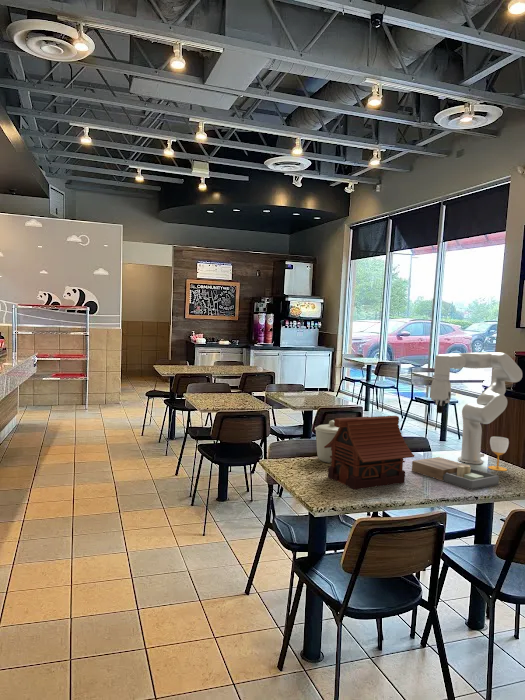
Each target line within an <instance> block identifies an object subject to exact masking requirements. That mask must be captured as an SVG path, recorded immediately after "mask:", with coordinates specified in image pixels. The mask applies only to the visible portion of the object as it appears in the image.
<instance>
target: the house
mask: <svg viewBox="0 0 525 700" xmlns="http://www.w3.org/2000/svg"><path fill="white" fill-rule="evenodd" d="M333 420H334V426H335V427H338V428H339V429H338V431H337V432H336V433H337V434H336V435H335V437H334V438H333V439H332V440H331V441H330V442H329V443H328V444H327V445H326V446H324V448H331V451H332V456H330V458H332V460H331V463H330V465H329V466H328V468H327V469H328V470H327V478H328V479H330V480H332V479H333V480H332V481H335V482H337V481H338V482H337V483H339V482H340V484H341V485H344V486H347V487H348V488H350V489H352V490H362V489H361V488H363V489H368V488H369V487H370V488H375V486H377V487H383V485H384V486H391V485H397V484H405V482H406V481H405V480H406V471H405V470H403V469H404V467H403V465H404V463H405V462H406V460H404V459H407V458H409V459H410V458H414V457H415V455H414V453H413V452H412V451H411V449H410V448H409V447H408V445H407V443H406V441H405V440H404V437H403V435H402V432H401V429H400V425H399V423H400V417H399V416H397V415H385V416H384V415H383V416H382V415H381V416H358V417H340V418H339V417H338V418H334V419H333Z"/></svg>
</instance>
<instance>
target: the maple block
mask: <svg viewBox="0 0 525 700" xmlns="http://www.w3.org/2000/svg"><path fill="white" fill-rule="evenodd" d="M471 468H472V467H471V465H469V464H466V465H460V466H457V476H459V477H462V478H464V474H469V473H470V470H471Z"/></svg>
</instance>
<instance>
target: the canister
mask: <svg viewBox="0 0 525 700" xmlns="http://www.w3.org/2000/svg"><path fill="white" fill-rule="evenodd" d="M338 429H339V428H338V427H335V426H334V419H332V420H329V422H328V423H327V424H319V425H317V426H315V427H314V430H315V440H316V452H317V455H316V456H317V458H318V459H319V461H321V462H324V463H329V464H331V460H332V458H330V456H332V451H331V448H324V446H326V445H327V444H328V443H329V442H330V441H331V440H332V439H333V438H334V437H335V435H336V434H337V433H336V432H337V431H338Z"/></svg>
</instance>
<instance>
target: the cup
mask: <svg viewBox="0 0 525 700" xmlns="http://www.w3.org/2000/svg"><path fill="white" fill-rule="evenodd" d="M509 444H510V441H509V438H507V437H503V436H496V435H495V436H491V437H490V439H489V445H490V449H491V452H492V453H494V454H495V455H497V458H496V459H497V460H496V465H488V466H487V468H488V469H490V470H493V471H496V472H507V471H508V468H505V467H502V466H499V465H500V464H499V463H500V456H502V455H504V454H505V453H506V452H507V450H508V448H509Z"/></svg>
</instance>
